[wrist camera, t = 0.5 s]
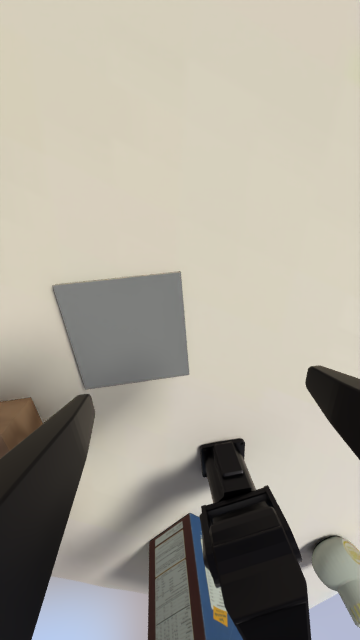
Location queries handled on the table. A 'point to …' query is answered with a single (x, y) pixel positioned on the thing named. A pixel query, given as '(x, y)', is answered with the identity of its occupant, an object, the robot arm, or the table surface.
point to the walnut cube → (17, 422)
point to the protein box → (184, 588)
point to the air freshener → (340, 571)
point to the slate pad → (126, 328)
